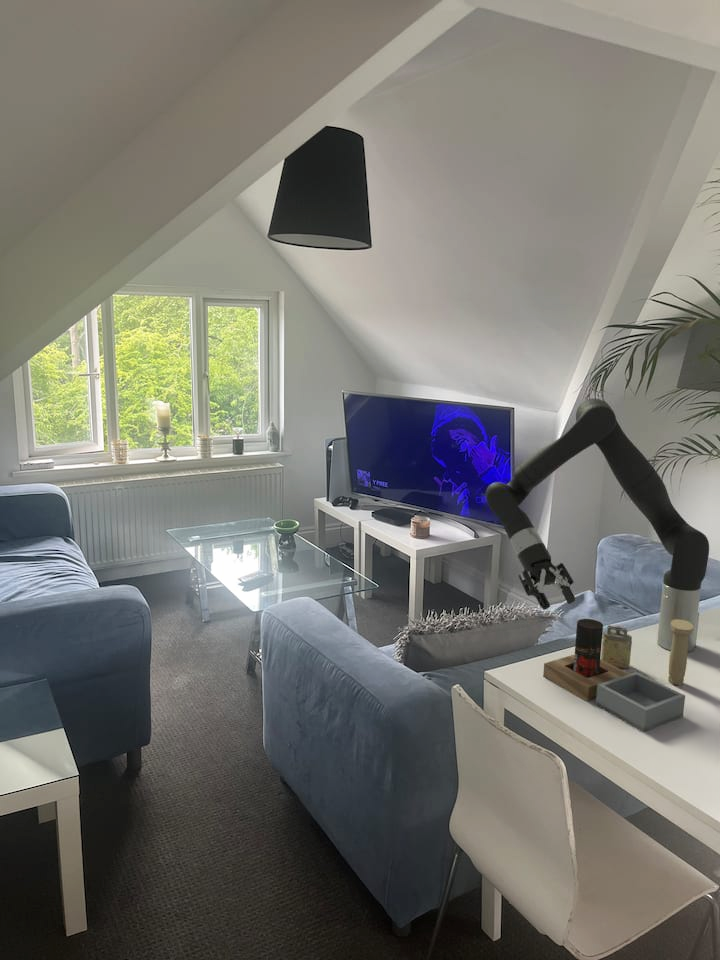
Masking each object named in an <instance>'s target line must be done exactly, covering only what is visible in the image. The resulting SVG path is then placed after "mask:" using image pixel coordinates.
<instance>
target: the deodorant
mask: <svg viewBox="0 0 720 960" xmlns="http://www.w3.org/2000/svg"><path fill="white" fill-rule="evenodd" d="M575 631H576V634H575V644H574V645H575V646H574V654H575V656H574V669H573V671H575V672H577V673H579V674H580V675H582V676H584V677H586V678H590V677H593V676H596V675H599V669H600V659H601V652H602V641H603V633H604V624H603V623H602V622H601V621H599V620H596V619H591V618H582V619H578V620H577V622H576V630H575Z"/></svg>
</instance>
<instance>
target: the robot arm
mask: <svg viewBox="0 0 720 960" xmlns="http://www.w3.org/2000/svg"><path fill="white" fill-rule="evenodd" d="M575 421H576V422H575V423H573V425H572V426H571V427H570V428H569V429H568V430H567V431H566V432H565V433H564V434H562V436H560V437H559V438H557V439H556V440H554V441H552V442H551V443H549V444H547V445H546V446H543V447H542V448H540V449H538V450H537V451H536V452H534V453H533V454H531V455H530V456H529V457H528V458H527V459H526V460H524V461H523V462H522V463H520V464H519V465H518V466H517V467H516V468H515V469H514V470H513V478H512V479H511V480H510V481H509V482H508V483H504V482H502V481H495V482H492V483H491V484H489V485H488V486H487V488H486V489H485V499H486V500H485V501H486V503H487V505H488V507H489V508H490V510H491V512H492V513H493V514H494V515H495V518H496V519H497V520H498V522H500V523H501V525H502V527H503V529H504V531H505V533H506V535H507V536H508V539H509V541H510V544H511V545H512V549H513V551H514V552H515V554H516V556H517V558H518V560H519V562H520V564H521V566H522V567H523V571H522V572H521V573H519V574H518V578H519V580H520V583H521V584H522V587H523V589H524V591H525V593H526V595H527V596H528V597H530V596H533V597H534V598H536V601H537V602H538V604H539V606H540V608H542V609H543V611H545V610H548V609H549V608H550V607H551V604H550V602H549V599H548V598H547V596H546V595H545V592H543V589H544V587H545V586H550V585H551V586H553V587H556V588H558V589H559V590H561V593H562V595H563V597H564V599H565V600H566V603H567V604H569V605H570V604H573V603H574V602H576V597H575V595H574V592H573V591H572V589H571V587H570V586H572V585H573V584H574V579H573V578H572V576H571V574H570V572H569V571H568V570H567V568H566V566H565V565H564V563H562V562H560V563H559V564H558V565H555V564H553V563H552V556H551V555H550V552H549V551H548V548H547V547H546V545H545V544H544V541H543V540H542V538H541V536H540V534H539V533H538V531H537V530H536V529H535V527H534V525H533V524H532V521H531V519H530V518H529V516H528V515H527V513H526V512H525V511H523V510H522V509H521V508H520V505H521V504H522V503H523V501H525V499H526V498H527V497H528V496H529V494H530V493H531V492H532V490H533V489H535V488H536V487H537V486H538V485H540V484H541V483H542V482H543V481H545V480H546V479H547V478H548V477H550V476H551V475H552V474H553V473H555V471H557V470H558V469H559V468H560V467H561V466H563V465H564V464H565V463H567V462H568V461H570V460H571V459H572V458H574V457H575V456H577V455H578V454H580V453H582V452H583V451H584V450H586V449H588V448H589V447H591V446H593V445H594V444H595V445H596V446H597V448H598V449H599V450H600V451H601V453H602V454H603V456H604V458H605V460H606V462H607V464H608V466H609V468H610V470H611V472H612V474H613V476H614V477H615V479H616V480H617V482H618V484H619V485H620V487H621V488H622V489H623V491H624V492H625V494H626V495H627V496H628V498H629V499H630V500H631V501H632V503H633V504H634V505H635V506H636V508H637V509H638V510H639V511H640V512H641V513H642V515H644V517H645V518H646V519H647V520H648V522H649V523H650V525H651V526H652V528H653V530H654V532H655V533H656V535H657V537H658V539H659V540H660V542H661V544H662V546H663V548H664V549H665V550H666V552H667V553H668V554H669V555H671V556H672V559H671V564H670V565H671V566H670V569H669V570H667V571H665V573H664V575H663V582H662V589H661V590H662V591H661V599H660V609H659V610H660V611H659V621H658V627H657V628H658V631H657V640H656V643H657V645H659V646H660V647H661V648H664V649H666V650H668V651H671V646H672V640H673V633H674V632H673V631H672V630H671V629H670V625H671V621H672V620H674V619H679V620H685V621H689V622H690V623H691V624H692V625H693V632H692V634H689V635H688V648H687V653H688V652H691V651H693V650H694V649H695V646H696V645H697V639H698V629H699V620H700V612H699V607H700V595H701V587H702V583H703V581H704V579H705V577H706V574H707V567H708V562H709V555H710V543H709V539H708V538H707V536H706V535H705V534H704V533H703V532H702V531H700V530H698V529H697V528H695V527H693V526H691V525H690V524H689V523H688V522H687V521H686V520H685V519H684V518H683V517H682V515H680V514H679V512H678V511H677V509H676V508H675V507H674V506H673V503H672V501H671V499H670V495H669V493H668V489H667V488H666V485H665V483H664V481H663V479H662V478H661V476H660V475H659V473H658V472H657V471H656V470H655V468H654V466H653V465H652V464H651V462H650V461H649V460H648V459H647V457H645V455H644V454H643V453H642V452H641V451H640V449H638V448H637V446H636V445H635V444H634V443H633V442H632V441H631V440H630V438H629V437H627V434H625V431H623V430H624V429H622V427H621V425H620V424H619V422H618V420H617V416H616V413H615V411H614V410H613V409H612V407H611V406H610V405H609V403H607V402H606V400H605V401H604V400H602V399H599V398H588V399H585V400H583V401H581V402H580V404H579V406H578V407H577V409H576V413H575Z"/></svg>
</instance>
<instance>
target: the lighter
mask: <svg viewBox="0 0 720 960" xmlns="http://www.w3.org/2000/svg"><path fill="white" fill-rule="evenodd" d="M612 630H614V631H612ZM622 632H623V633H622ZM632 639H633V636H632V635H630V634H628V630H627V628H625V627H622V626H621V625H616V626H613V625H607V629H606V631H603V634H602V645H601V657H600V659H601V660H603V661H605V662H607V663H609V664H611V665H613V666H615V667H617V668H619V669H628V668H630V667H631V656H632V655H631V654H632V653H631V652H632V645H633V640H632Z"/></svg>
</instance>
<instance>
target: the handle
mask: <svg viewBox="0 0 720 960" xmlns="http://www.w3.org/2000/svg"><path fill="white" fill-rule="evenodd" d="M670 629H671V630H672V631H673V632H674V633H673V640H672V646H671V650H670V652H669V658H668V682H669V683H671V684H672V685H673V684H674V685H676V686H681V685H682V684H683V683H684V680H685V679H684V678H685V676H686V675H685V674H686V671H687V665H688V664H687V663H688V652H687V648H688V635H689V634H692V632H693V625H692V624H691V623H690V622H689V621H685V620H679V619H674V620H672V621H671V625H670ZM674 685H673V686H674Z"/></svg>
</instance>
